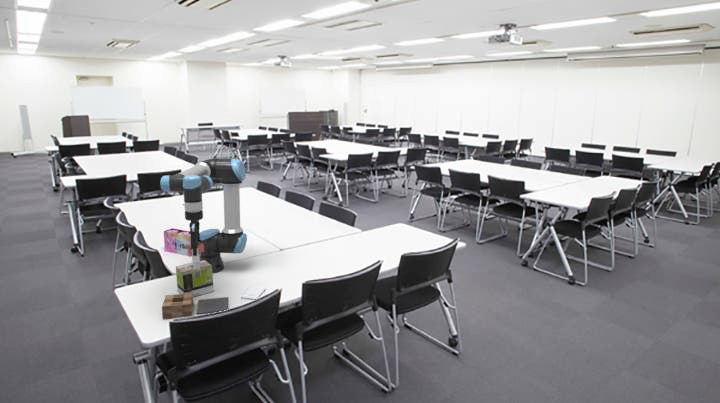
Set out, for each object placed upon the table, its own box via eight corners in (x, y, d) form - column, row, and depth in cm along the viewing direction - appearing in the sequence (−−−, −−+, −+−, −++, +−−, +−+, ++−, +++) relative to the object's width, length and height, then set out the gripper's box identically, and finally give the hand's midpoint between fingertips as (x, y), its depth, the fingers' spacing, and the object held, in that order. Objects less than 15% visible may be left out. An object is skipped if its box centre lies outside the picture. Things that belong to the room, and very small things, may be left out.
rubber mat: (198, 301, 207) (198, 299, 207) (228, 298, 211) (228, 296, 211) (196, 314, 194) (196, 313, 194) (228, 311, 198) (228, 309, 198)
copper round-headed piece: (206, 272, 201) (204, 242, 197) (204, 278, 194) (203, 247, 191) (190, 273, 199) (188, 243, 195) (188, 279, 192) (186, 248, 189)
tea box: (206, 285, 225) (205, 259, 222) (214, 291, 218) (212, 264, 214) (177, 292, 215) (175, 265, 212) (184, 299, 208) (182, 271, 205)
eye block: (166, 307, 200) (165, 295, 199) (193, 304, 203) (193, 292, 202) (162, 319, 189) (161, 306, 187) (191, 316, 192) (190, 304, 191)
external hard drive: (265, 291, 222) (256, 301, 210) (251, 289, 223) (240, 299, 211) (265, 288, 222) (256, 298, 210) (250, 286, 223) (240, 296, 211)
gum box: (202, 253, 272) (201, 233, 269) (193, 257, 265) (192, 236, 262) (173, 247, 280) (172, 228, 277) (164, 251, 273) (162, 231, 270)
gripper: (187, 205, 198) (190, 251, 203) (181, 216, 179) (185, 267, 184) (204, 204, 200) (206, 251, 205) (200, 215, 181) (203, 266, 186)
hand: (196, 258), depth 194 cm, fingers closed on copper round-headed piece, 7 cm apart
